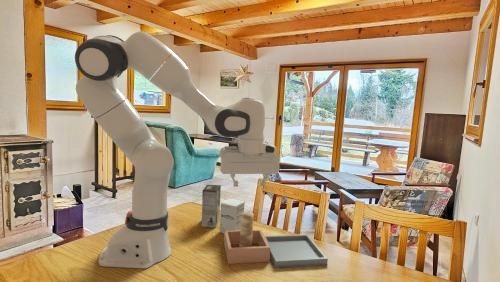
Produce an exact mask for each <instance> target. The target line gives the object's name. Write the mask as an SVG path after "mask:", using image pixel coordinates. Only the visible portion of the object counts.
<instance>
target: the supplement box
mask: <svg viewBox="0 0 500 282" xmlns="http://www.w3.org/2000/svg"><path fill="white" fill-rule="evenodd" d="M243 212H245V201H243V200H239V199H234V198H228V199H225V200H224V201H221V202H220V219H219V233H221V234H224V233H225V231H230V230H240V229H241V213H243Z"/></svg>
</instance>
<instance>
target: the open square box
mask: <svg viewBox="0 0 500 282" xmlns="http://www.w3.org/2000/svg"><path fill="white" fill-rule="evenodd" d="M223 234H224V238H223V244H224V248H225V249H224V250H225V255H226V260H227V264H228V265H229V264H248V263H262V262H263V263H265V262H267V263H268V262H270V259H271V257H270V246H269V244H268V242H267V240H266V238H265V236H266V235H265V234H264V233H263V231H262V229H253V238H252V244H258V245H259V246H252V247H240V246H239V247H237V246H236V247H232V245H240V230H230V231H225V233H223Z"/></svg>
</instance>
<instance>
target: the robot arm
mask: <svg viewBox="0 0 500 282" xmlns="http://www.w3.org/2000/svg"><path fill="white" fill-rule="evenodd" d="M74 61H75V65H76V68H77V69H78V71H79V72H80V73H81V74H82V77H80V78H79V80H78V81H77V83H76V84H75V91H76V92H75V93H76V94H77V96H78V98H79V99H80V101H81V103H82V104H83V106H84V107H85V109H86V110H87V112H88V113H89V114H90V116H91V117H92V118H93V119H94V120H95V122H96V123H97V124H98V126H100V128H101V129H102V130H103V131H104V133H106V134H107V136H108V137H109V138H110V139H111V141H112V142H114V144H115V145H116V146H117V148H118V149H120V151H121V152H122V154H123V155H124V156H125V157H126V158H127V159H128V160H129V162H130V163H131V164H132V165H133V167H134V180H133V187H132V191H131V210H129V211H127V213H126V215H125V220H124V225H123V226H122V227H121V228H119V229H118V230H115V232H114V233H113V234H112V235H111V237H109V240H108V242H107V245H106V247H104V248H103V250H102V251H101V252H100V254H99V257H98V261H97V262H98V265H99V266H100V267H106V268H107V267H109V268H110V267H111V268H126V269H127V268H128V269H129V268H130V269H149V268H150V267H151V266H153V265H155V264H157V263H159V262H162V261H164V260H166V259H167V258H168V257H169V256H170V255H171V253H172V249H171V245H170V241H169V234H168V228H169V212H168V210H167V209H168V188H169V183H170V178H171V174H172V173H171V172H172V170H173V168H174V164H175V163H174V162H175V160H174V157H173V155H172V152H171V150H170V149H169V148H168V147H167V146H166V145H164V144H163V143H160V142H159V141H158V140H157V139H156V138H155V136H154V135H153V133H152V132H151V130H150V128H149V127H148V126H147V123H146V122H145V121H144V119H143V117H142V116H141V115H140V113H139V111H137V109H136V108H135V107H134V106H133V104H132V103H131V102H130V100H129V98H127V97H126V95H125V94H124V93H123V91H122V90H121V88H120V87H119V84H118V82H117V79H118V78H120V77H121V75H122V74H123V72H125V71H127V70H128V69H129V70H134V71H136V72H137V73H138V74H140V75H141V76H143V77H144V78H145V79H146V80H147V81H149V83H151V84H152V85H154V86H155V87H157V88H158V89H160V91H162V92H164V93H166V94H167V95H171V96H172V97H174V98H176V99H178V100H180V101H182V102H183V103H184V104H185V105H186V106H188V107H189V109H191V110H192V111H193V112H195V113H196V114H197V115H198V116H199V117H200V118H201V119H202V121H203V123H204V124H203V125H205V127H206V129H207V130H208V131H209V132H210V133H211V134H213V135H218V136H220V137H223V138H229V139H230V138H234V137H237V145H236V146H234V145H233V146H228V145H226V146H224V147H222V148H220V151H219V158H220V165H219V166H220V169H219V170H220V172H221V174H223V175H230V177H231V179H232V183H233V184H232V186H233V187H234V188H235V187H239V181H238V180H236V179H235V177H236V175H253V174H254V175H263V176H264V177H263V178H262V179H261V180H259V186H260V187H265V186H266V182H267V180H268V178H269V176H270V175H273V174H274V175H277V174H279V171H280V158H279V155H278V154H277V153H278V147H276V145H273V144H271V143H269V142H266V141H265V135H264V128H265V126H266V110H265V109H266V108H265V104H264V103H263V102H262V100H259V99H255V98H250V97H243V98H241V99H240V100H239V101H237V102H235V103H233V104H231V105H230V104H229V105H228V106H226V107H223V106H220V105H217V104H215V103H213V102H212V101H211V100H210V99H209V98H207V97H206V96H205V95H204V93H202V92H201V91H200V90H199V89H198V88H197V87H196V85H195V84H194V82H193V79H192V75H191V74H192V73H191V70H190V68H189V67H188V66H187V65H186V63H185V62H184V61H183V60H182V59H181V58H180V56H178V55H177V54H176V53H175V52H174V51H173V50H172V49H171V48H170V47H168V46H167V45H166V44H165V43H163V42H162V41H161V40H159V39H158V38H156V37H154V36H153V35H152V34H150V33H148V32H146V31H143V30H141V31H137V32H134V33H132V34H131V35H130V36H128V37H127V39H125V40H123V39H122V38H120V37H118V36H116V35H112V34H111V35H109V34H108V35H98V36H94V37H92V38H89V39H86V40H84V41H83V42H82V43H81V44H79V46H78V47H77V48H76V50H75V53H74Z"/></svg>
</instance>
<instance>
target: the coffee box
mask: <svg viewBox="0 0 500 282" xmlns="http://www.w3.org/2000/svg"><path fill="white" fill-rule="evenodd" d="M221 186H222V185H221V184H206V185H205V187H204V188H203V189H202V193H201V194H202V195H201V197H202V198H201V199H202V200H201V201H202V203H201V205H202V206H201V227H202V228H203V227H204V228H214V229H215V228H217V226H218V223H220V213H221V188H222V187H221Z"/></svg>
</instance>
